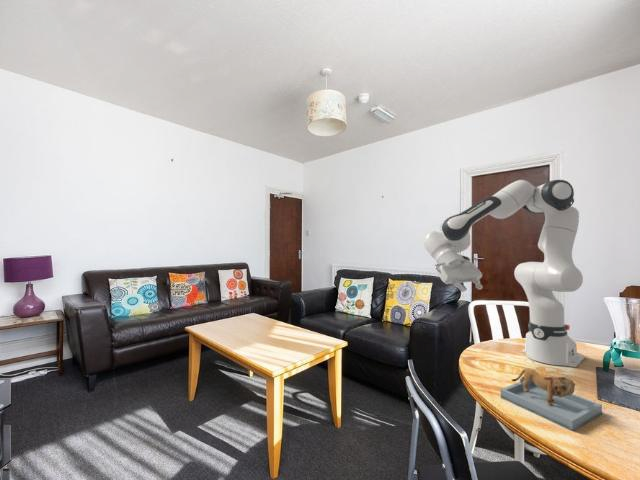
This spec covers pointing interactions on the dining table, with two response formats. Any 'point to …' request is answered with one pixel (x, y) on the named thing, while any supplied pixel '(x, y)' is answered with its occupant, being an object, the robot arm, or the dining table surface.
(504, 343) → the dining table surface
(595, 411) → the grey tray
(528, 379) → the lion figurine
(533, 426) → the dining table surface
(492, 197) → the robot arm
